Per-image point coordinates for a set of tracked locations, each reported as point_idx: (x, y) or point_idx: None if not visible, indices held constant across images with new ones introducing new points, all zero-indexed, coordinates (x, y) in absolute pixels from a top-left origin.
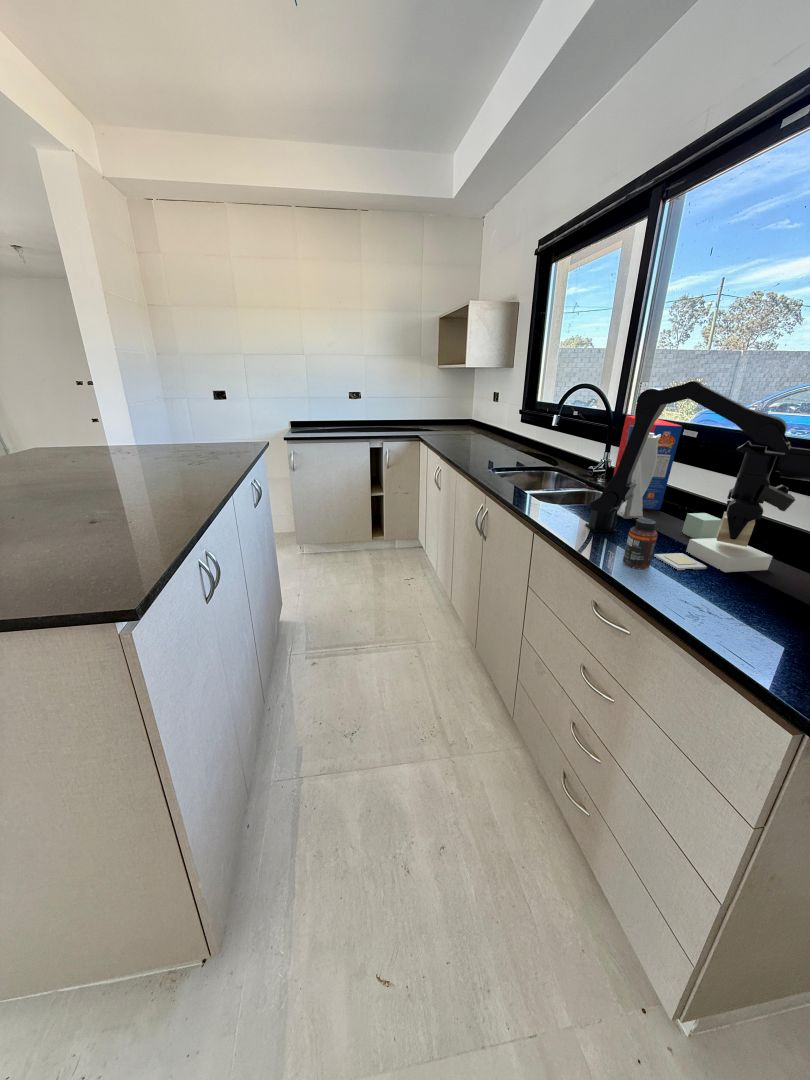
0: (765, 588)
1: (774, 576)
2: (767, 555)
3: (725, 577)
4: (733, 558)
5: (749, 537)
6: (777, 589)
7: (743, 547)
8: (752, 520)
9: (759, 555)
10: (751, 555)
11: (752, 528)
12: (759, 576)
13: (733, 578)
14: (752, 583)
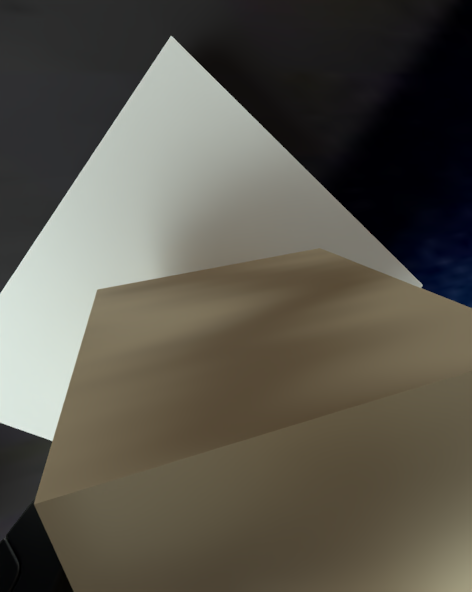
0: (455, 82)
1: (254, 30)
2: (182, 81)
3: (423, 248)
4: (406, 269)
5: (373, 273)
6: (439, 23)
7: (127, 265)
8: (413, 419)
9: (238, 141)
10: (280, 191)
11: (459, 314)
12: (315, 115)
13: (416, 219)
14: (428, 141)
